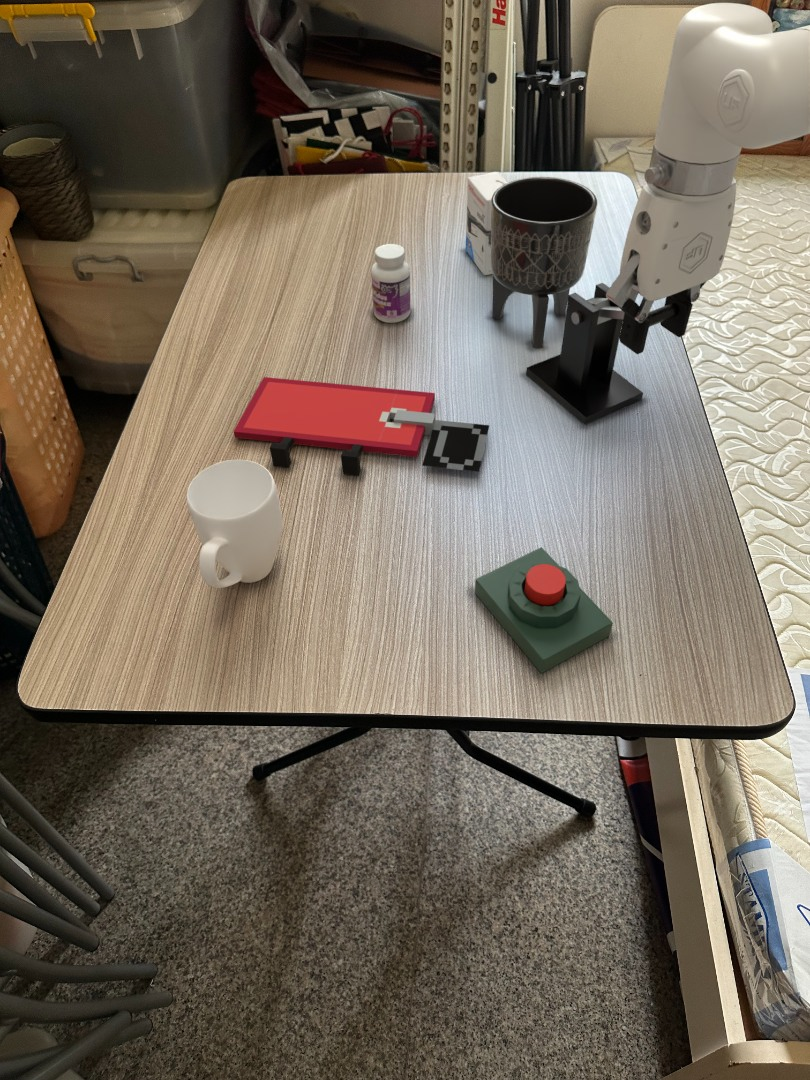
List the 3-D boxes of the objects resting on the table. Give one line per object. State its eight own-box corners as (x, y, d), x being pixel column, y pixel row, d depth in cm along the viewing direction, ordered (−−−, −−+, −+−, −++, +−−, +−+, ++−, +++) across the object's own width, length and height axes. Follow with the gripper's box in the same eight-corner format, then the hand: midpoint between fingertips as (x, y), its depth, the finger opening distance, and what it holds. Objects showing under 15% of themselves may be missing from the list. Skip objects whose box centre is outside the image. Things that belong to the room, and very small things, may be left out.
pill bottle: (366, 318, 112) (362, 255, 104) (384, 300, 115) (381, 237, 108) (400, 327, 110) (397, 264, 103) (417, 309, 113) (416, 245, 106)
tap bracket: (641, 400, 97) (663, 309, 88) (584, 425, 95) (600, 333, 85) (580, 353, 105) (594, 264, 95) (525, 374, 102) (534, 285, 92)
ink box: (463, 250, 124) (465, 175, 115) (493, 245, 125) (497, 169, 116) (483, 276, 118) (487, 199, 110) (513, 270, 119) (520, 193, 110)
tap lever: (680, 321, 84) (678, 298, 83) (644, 335, 82) (642, 312, 81) (605, 314, 94) (603, 293, 93) (572, 326, 92) (569, 306, 91)
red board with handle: (476, 489, 87) (494, 407, 97) (477, 470, 85) (495, 389, 95) (224, 460, 92) (265, 386, 102) (219, 442, 90) (262, 367, 100)
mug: (228, 532, 85) (204, 453, 76) (301, 542, 83) (286, 463, 75) (185, 621, 77) (153, 544, 68) (265, 634, 75) (243, 557, 67)
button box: (609, 636, 74) (616, 610, 71) (541, 673, 72) (545, 649, 69) (539, 560, 81) (543, 534, 78) (474, 592, 78) (475, 567, 75)
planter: (538, 290, 115) (551, 167, 102) (597, 331, 108) (620, 203, 95) (466, 318, 111) (470, 193, 98) (523, 362, 103) (536, 234, 90)
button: (571, 595, 73) (573, 583, 72) (540, 611, 72) (542, 600, 70) (547, 570, 75) (549, 558, 74) (517, 585, 74) (518, 573, 72)
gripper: (648, 207, 67) (612, 382, 80) (790, 160, 72) (734, 331, 86) (591, 176, 71) (567, 346, 85) (729, 133, 76) (685, 300, 90)
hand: (651, 337), depth 85 cm, fingers closed on tap lever, 5 cm apart
